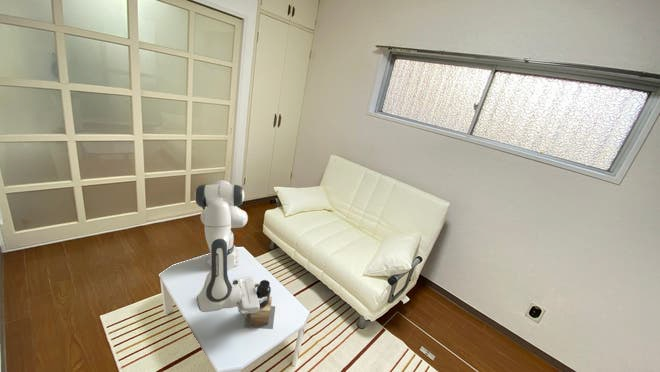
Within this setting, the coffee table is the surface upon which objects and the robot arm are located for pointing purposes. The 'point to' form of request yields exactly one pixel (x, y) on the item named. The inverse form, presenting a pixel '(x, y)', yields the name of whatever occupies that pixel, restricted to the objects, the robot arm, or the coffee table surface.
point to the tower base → (259, 320)
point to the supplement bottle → (264, 292)
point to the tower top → (263, 310)
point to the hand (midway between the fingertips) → (265, 291)
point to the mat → (264, 326)
